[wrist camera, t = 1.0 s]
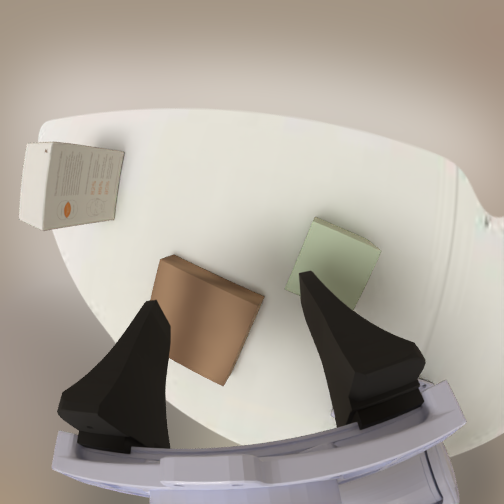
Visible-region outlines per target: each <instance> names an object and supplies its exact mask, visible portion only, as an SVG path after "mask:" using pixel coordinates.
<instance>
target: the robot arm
mask: <svg viewBox="0 0 504 504" xmlns="http://www.w3.org/2000/svg"><path fill="white" fill-rule="evenodd" d="M299 283H300V295H301V304H302V308H303V312H304V316H305V319H306V322H307V325H308V327H309V330H310V332H311V335H312V337H313V340H314V343H315V345H316V348H317V350H318V353H319V355H320V358H321V361H322V365H323V368H324V372H325V376H326V380H327V384H328V388H329V392H330V397H331V401H332V405H333V410H332V411H331V416H332V417H335V420H336V425H337V428H334V429H330V430H327V431H323V432H318V433H314V434H310V435H305V436H301V437H296V438H291V439H285V440H280V441H273V442H267V443H260V444H252V445H244V446H233V447H221V448H201V449H170V443H169V436H168V429H167V419H166V402H165V385H166V375H167V367H168V360H169V352H170V345H171V326H170V324H169V322H168V320H167V318H166V316H165V315H164V313H163V311H162V309H161V307H160V305H159V303H158V301H157V300H151V301H146V302H145V303H144V305H143V306H142V308H141V309H140V310H139V312H138V313H137V315H136V316H135V318H134V319H133V321H132V322H131V324H130V325H129V327H128V328H127V329H126V331H125V332H124V334H123V335H122V336H121V338H120V339H119V340H118V342H117V343H116V344H115V346H114V347H113V348H112V349H111V350H110V352H109V353H108V354H107V355H106V356H105V357H104V358H103V359H102V361H100V362H99V363H98V364H97V365H96V366H95V367H94V368H93V369H92V370H91V371H90V372H89V373H88V374H87V375H85V377H83V378H82V379H81V380H79V381H78V382H77V383H75V384H74V385H73V386H71V387H70V388H68V389H67V390H65V391H64V392H63V393H62V396H61V400H60V403H59V407H58V411H57V412H58V415H59V416H60V417H61V418H62V419H63V420H64V421H66V422H67V423H69V424H70V425H72V426H73V427H74V428H76V429H77V430H79V434H78V435H76V434H73V433H70V432H65V431H59V432H58V436H57V441H56V446H55V451H54V457H53V462H52V469H53V470H55V471H57V472H59V473H62V474H64V475H66V476H68V477H71V478H73V479H75V480H78V481H80V482H83V483H87V484H90V485H94V486H98V487H101V488H106V489H109V490H114V491H118V492H123V493H127V494H132V495H137V496H143V497H149V498H150V504H459V502H460V498H459V491H458V487H457V482H456V477H455V473H454V470H453V467H452V464H451V461H450V458H449V455H448V453H447V450H446V448H445V446H444V443H443V441H444V440H445V439H447V438H448V437H449V436H451V435H452V434H453V433H455V432H456V431H457V430H458V429H460V428H461V427H462V426H463V425H465V424H466V422H467V421H466V419H465V417H464V414H463V412H462V410H461V408H460V406H459V404H458V402H457V399H456V397H455V395H454V393H453V391H452V389H451V387H450V385H449V383H448V382H447V380H444V381H442V382H440V383H438V384H436V385H434V384H433V383H430V382H427V381H424V380H421V379H418V377H419V375H420V374H421V372H422V370H423V368H424V366H425V359H424V357H423V355H422V353H421V351H420V350H419V349H418V347H417V346H416V345H415V343H414V342H411V341H408V340H405V339H403V338H400V337H398V336H395V335H393V334H391V333H389V332H387V331H385V330H383V329H381V328H379V327H377V326H376V325H374V324H372V323H370V322H369V321H367V320H366V319H364V318H363V317H361V316H360V315H358V314H357V313H356V312H354V311H353V310H352V309H350V308H349V307H348V306H347V305H346V304H344V303H343V302H342V301H341V300H340V299H339V298H338V297H336V296H335V295H334V294H333V293H332V292H331V291H330V290H329V289H328V288H327V287H326V286H325V285H324V284H323V283H322V282H321V281H320V279H319V278H318V277H317V276H316V275H315V274H314V272H312V271H306V272H301V273H299ZM423 385H425V386H423Z"/></svg>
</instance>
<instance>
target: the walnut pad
mask: <svg viewBox="0 0 504 504" xmlns="http://www.w3.org/2000/svg"><path fill="white" fill-rule="evenodd" d="M263 299H264V296H262V295H260V294H257V293H255V292H253V291H251V290H249V289H246V288H244V287H242V286H240V285H237V284H235V283H233V282H231V281H229V280H227V279H224V278H222V277H220V276H218V275H216V274H214V273H211V272H209V271H207V270H205V269H203V268H201V267H199V266H197V265H194V264H192V263H190V262H188V261H186V260H184V259H182V258H180V257H178V256H176V255H171V256H168V257H165V258H162V259H160V262H159V266H158V270H157V274H156V278H155V282H154V286H153V291H152V295H151V300H157V301H158V303H159V305H160V307H161V309H162V311H163V313H164V315H165V316H166V318H167V320H168V322H169V324H170V326H171V345H170V352H169V358H170V359H172V360H174V361H176V362H177V363H179V364H181V365H183V366H185V367H187V368H188V369H190V370H192V371H194V372H196V373H198V374H200V375H202V376H203V377H205V378H207V379H209V380H211V381H213V382H215V383H217V384H219V385H222V386H224V384H225V383H226V381H227V379H228V378H229V376H230V374H231V373H232V370H233V368H234V366H235V364H236V361H237V359H238V357H239V355H240V352H241V350H242V348H243V345H244V343H245V341H246V339H247V336H248V334H249V332H250V329H251V327H252V325H253V322H254V320H255V318H256V315H257V313H258V311H259V308H260V306H261V304H262V301H263ZM151 300H150V301H151Z"/></svg>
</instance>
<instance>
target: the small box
mask: <svg viewBox="0 0 504 504" xmlns="http://www.w3.org/2000/svg"><path fill="white" fill-rule="evenodd" d="M123 156H124V152H122V151H117V150H110V149H104V148H97V147H90V146H84V145H77V144H70V143H61V142H40V143H28V144H27V148H26V154H25V160H24V167H23V174H22V184H21V195H20V211H19V220H21V221H23V222H25V223H27V224H29V225H32V226H33V227H36V228H38V229H40V230H42V231H47V230H52V229H58V228H64V227H70V226H77V225H83V224H89V223H96V222H103V221H109V220H113V219H114V214H115V205H116V198H117V191H118V184H119V178H120V172H121V166H122V161H123Z"/></svg>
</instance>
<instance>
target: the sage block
mask: <svg viewBox="0 0 504 504" xmlns="http://www.w3.org/2000/svg"><path fill="white" fill-rule="evenodd" d="M380 253H381V250H379V249H378V248H377V247H376V246H375V245H373V244H372V243H371V242H370V241H369V240H367V239H365V238H363V237H360V236H358V235H356V234H354V233H352V232H349V231H347V230H345V229H342V228H340V227H338V226H335V225H333V224H331V223H328V222H326V221H324V220H321V219H319V218H317V217H315V218H314V220H313V222H312V224H311V227H310V229H309V232H308V234H307V237H306V239H305V242H304V244H303V247H302V249H301V251H300V254H299V256H298V259H297V261H296V263H295V266H294V268H293V271H292V273H291V275H290V278H289V280H288V282H287V285H286V287H285V290H288V291H290V292H292V293H295V294H297V295H299V296H301V295H300V283H299V273H301V272H306V271H312V272H314V274H315V275H316V276H317V277H318V278H319V279H320V281H321V282H322V283H323V284H324V285H325V286H326V287H327V288H328V289H329V290H330V291H331V292H332V293H333V294H334V295H335V296H336V297H338V298H339V299H340V300H341V301H342V302H343V303H344V304H346V305H347V306H348V307H349V308H350V309H352V310H354V308H355V306H356V304H357V302H358V300H359V298H360V296H361V294H362V292H363V290H364V288H365V286H366V284H367V281H368V279H369V277H370V275H371V273H372V271H373V269H374V267H375V264H376V262H377V260H378V258H379V255H380Z"/></svg>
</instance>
